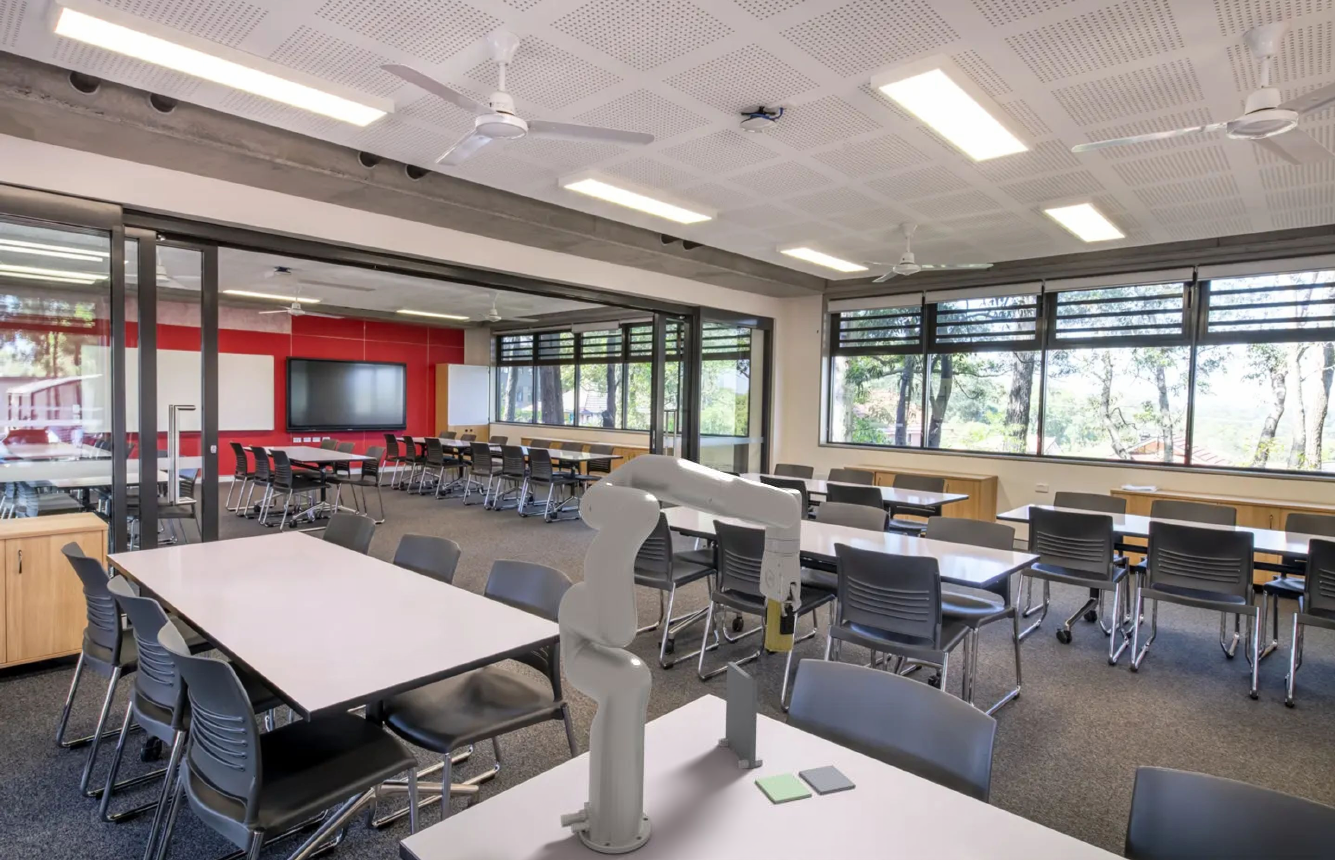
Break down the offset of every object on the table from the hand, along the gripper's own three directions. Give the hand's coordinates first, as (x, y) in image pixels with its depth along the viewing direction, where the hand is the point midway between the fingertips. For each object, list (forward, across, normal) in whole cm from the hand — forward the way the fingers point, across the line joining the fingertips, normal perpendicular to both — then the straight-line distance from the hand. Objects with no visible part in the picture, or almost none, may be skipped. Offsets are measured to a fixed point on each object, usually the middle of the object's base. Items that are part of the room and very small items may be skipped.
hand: (779, 628), depth 149 cm
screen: (+27, -2, -7) cm, 28 cm away
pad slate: (+27, +13, +5) cm, 30 cm away
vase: (+4, 0, 0) cm, 4 cm away
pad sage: (+27, +13, -5) cm, 31 cm away
